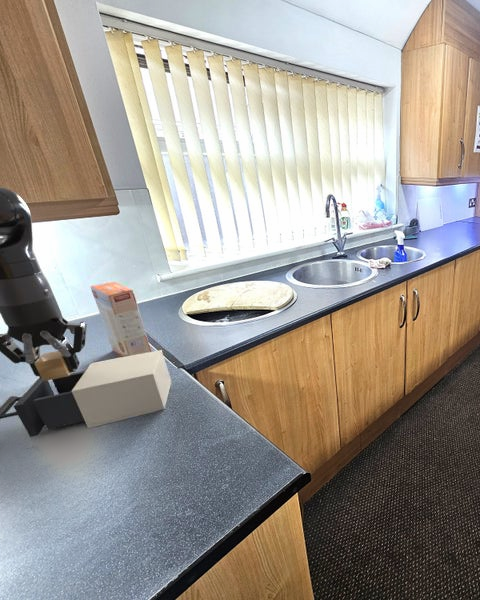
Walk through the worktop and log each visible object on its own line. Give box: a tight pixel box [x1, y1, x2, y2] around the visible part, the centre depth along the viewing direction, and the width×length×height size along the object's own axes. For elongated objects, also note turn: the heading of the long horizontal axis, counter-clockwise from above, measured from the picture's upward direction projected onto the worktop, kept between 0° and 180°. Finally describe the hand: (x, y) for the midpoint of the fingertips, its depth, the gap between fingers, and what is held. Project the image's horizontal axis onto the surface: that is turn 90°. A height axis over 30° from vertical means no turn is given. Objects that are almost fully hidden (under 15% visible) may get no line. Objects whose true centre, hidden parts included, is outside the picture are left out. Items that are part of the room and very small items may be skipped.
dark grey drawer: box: [0, 370, 86, 438], centre depth 70 cm, size 17×10×8 cm, turn 117°
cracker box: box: [90, 281, 152, 358], centre depth 94 cm, size 14×6×21 cm, turn 56°
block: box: [34, 350, 73, 381], centre depth 68 cm, size 4×4×4 cm
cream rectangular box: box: [72, 349, 172, 429], centre depth 75 cm, size 14×12×10 cm
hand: (59, 372), depth 68 cm, fingers closed on block, 4 cm apart
